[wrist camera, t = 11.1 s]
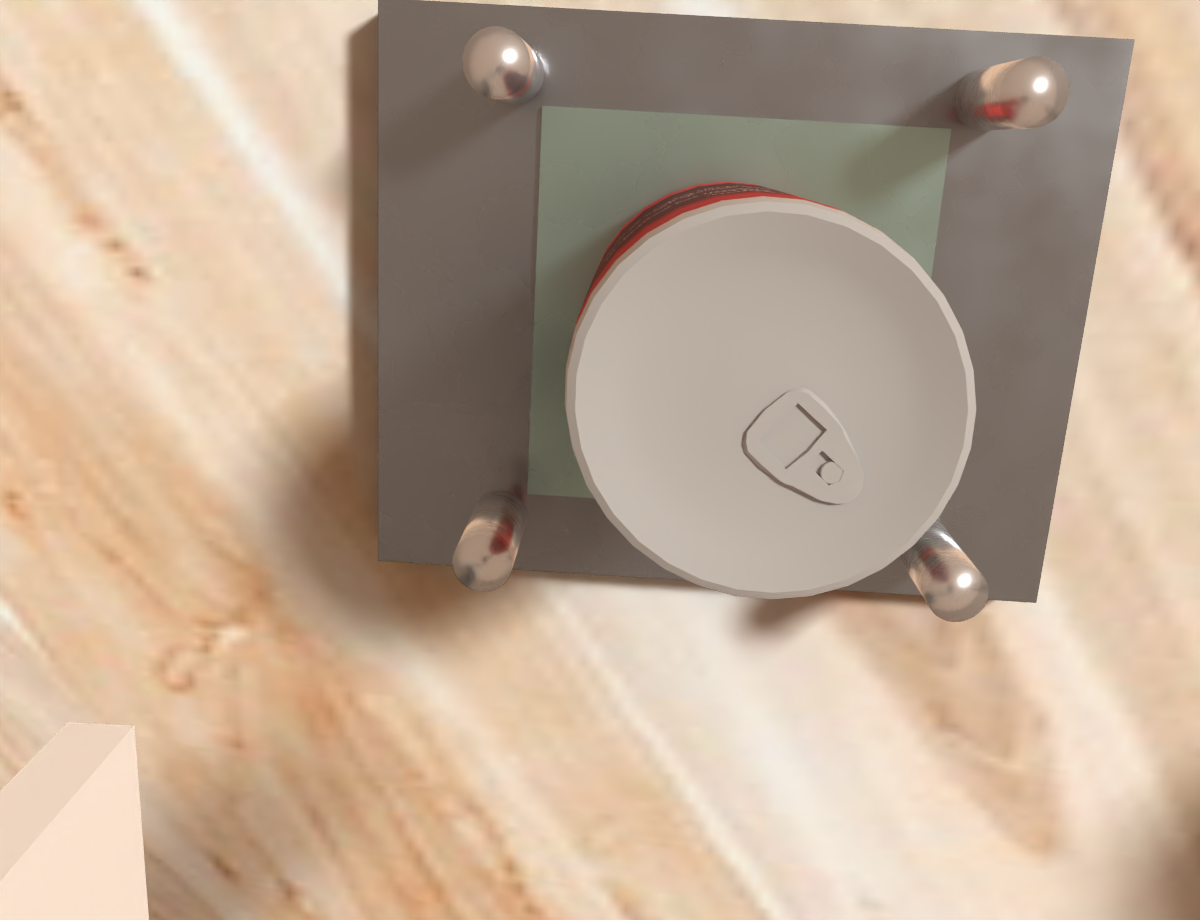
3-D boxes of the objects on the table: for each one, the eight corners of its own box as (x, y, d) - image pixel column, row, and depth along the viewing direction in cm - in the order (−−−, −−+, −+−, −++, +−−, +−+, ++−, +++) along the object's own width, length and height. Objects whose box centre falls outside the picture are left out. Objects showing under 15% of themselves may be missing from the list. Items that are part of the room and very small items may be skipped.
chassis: (388, 543, 35) (344, 613, 30) (390, 5, 31) (339, -25, 26) (1019, 584, 35) (1087, 661, 30) (1111, 44, 31) (1209, 23, 25)
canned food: (781, 499, 33) (848, 667, 22) (539, 374, 32) (490, 487, 21) (920, 266, 31) (1067, 330, 20) (666, 128, 30) (680, 118, 19)
